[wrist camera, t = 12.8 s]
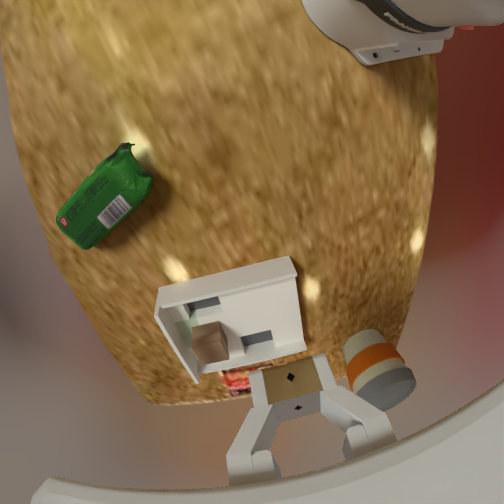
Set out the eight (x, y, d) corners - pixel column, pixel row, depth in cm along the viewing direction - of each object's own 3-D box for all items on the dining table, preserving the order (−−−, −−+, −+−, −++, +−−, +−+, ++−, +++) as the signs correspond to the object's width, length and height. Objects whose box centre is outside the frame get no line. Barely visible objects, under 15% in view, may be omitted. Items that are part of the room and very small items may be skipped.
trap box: (288, 255, 43) (300, 281, 38) (300, 331, 53) (309, 358, 47) (159, 287, 43) (153, 316, 38) (195, 356, 53) (196, 383, 47)
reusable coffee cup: (325, 345, 56) (349, 406, 43) (378, 312, 54) (412, 370, 41) (346, 368, 62) (368, 420, 50) (392, 340, 60) (421, 390, 47)
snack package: (167, 176, 35) (161, 189, 31) (91, 245, 38) (79, 264, 34) (131, 135, 32) (119, 142, 27) (59, 211, 35) (42, 228, 30)
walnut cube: (218, 320, 45) (220, 342, 41) (227, 338, 47) (229, 359, 44) (192, 327, 45) (191, 348, 41) (201, 344, 47) (202, 365, 44)
